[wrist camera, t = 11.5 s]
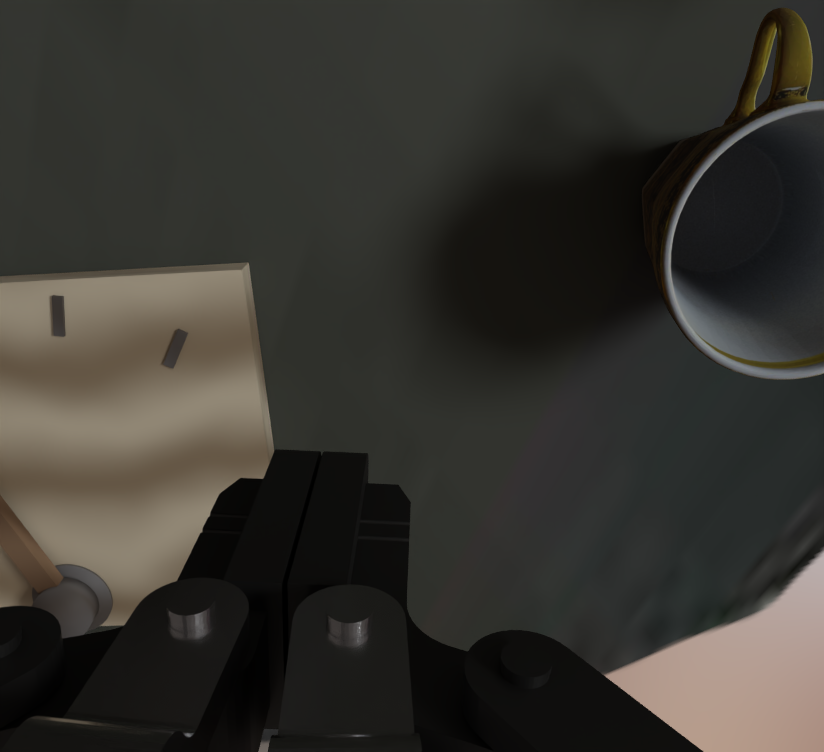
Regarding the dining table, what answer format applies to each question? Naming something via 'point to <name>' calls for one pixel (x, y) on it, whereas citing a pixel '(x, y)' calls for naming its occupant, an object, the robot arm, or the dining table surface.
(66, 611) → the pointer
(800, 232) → the ceramic cup
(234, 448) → the board
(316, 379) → the dining table surface
